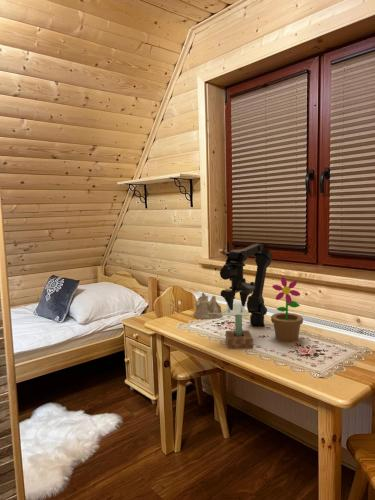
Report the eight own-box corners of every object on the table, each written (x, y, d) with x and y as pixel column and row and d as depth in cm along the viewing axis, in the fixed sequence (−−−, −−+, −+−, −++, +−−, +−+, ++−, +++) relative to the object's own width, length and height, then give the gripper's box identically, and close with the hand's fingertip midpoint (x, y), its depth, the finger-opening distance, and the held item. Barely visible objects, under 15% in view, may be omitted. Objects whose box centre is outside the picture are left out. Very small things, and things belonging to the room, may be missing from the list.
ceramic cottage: (223, 318, 205) (221, 291, 204) (194, 320, 206) (192, 293, 205) (221, 312, 221) (220, 287, 220) (194, 313, 221) (192, 289, 220)
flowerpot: (269, 342, 168) (269, 277, 165) (273, 332, 182) (273, 272, 178) (301, 345, 163) (302, 278, 160) (303, 334, 177) (304, 273, 173)
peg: (239, 341, 170) (239, 314, 168) (243, 343, 167) (243, 315, 166) (234, 342, 169) (233, 315, 167) (237, 344, 166) (237, 316, 165)
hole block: (249, 338, 173) (249, 330, 173) (252, 347, 162) (252, 338, 162) (225, 339, 174) (225, 330, 173) (227, 347, 163) (227, 339, 162)
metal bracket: (223, 300, 223) (248, 300, 221) (223, 308, 225) (248, 309, 223) (221, 313, 210) (248, 314, 208) (222, 322, 212) (248, 322, 210)
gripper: (238, 281, 164) (238, 315, 166) (262, 275, 177) (262, 307, 179) (219, 278, 172) (220, 311, 174) (244, 273, 185) (244, 303, 187)
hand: (237, 308), depth 178 cm, fingers open, 9 cm apart
